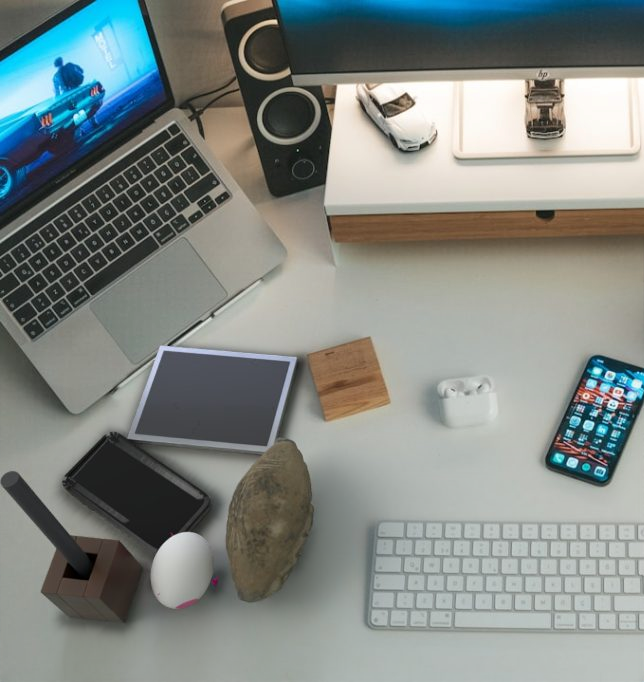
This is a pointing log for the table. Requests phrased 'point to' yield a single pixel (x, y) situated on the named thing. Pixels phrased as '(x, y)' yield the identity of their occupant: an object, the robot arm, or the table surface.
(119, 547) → the pen stand
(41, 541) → the table surface
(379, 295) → the table surface
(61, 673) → the table surface
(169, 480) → the phone
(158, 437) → the tablet
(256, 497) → the stone
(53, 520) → the stylus
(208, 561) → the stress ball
